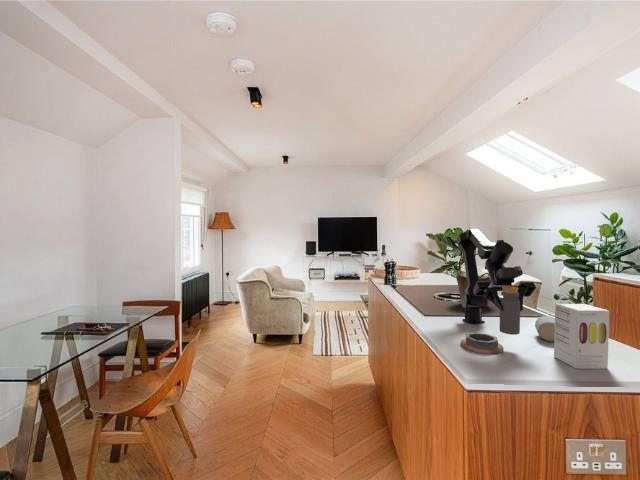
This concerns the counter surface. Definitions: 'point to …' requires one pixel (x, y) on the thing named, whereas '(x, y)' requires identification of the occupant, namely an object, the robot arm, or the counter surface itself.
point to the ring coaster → (495, 351)
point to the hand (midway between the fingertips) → (511, 310)
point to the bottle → (510, 311)
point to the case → (463, 283)
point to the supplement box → (581, 335)
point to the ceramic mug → (546, 327)
